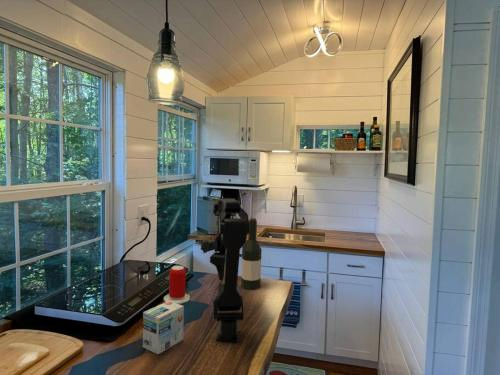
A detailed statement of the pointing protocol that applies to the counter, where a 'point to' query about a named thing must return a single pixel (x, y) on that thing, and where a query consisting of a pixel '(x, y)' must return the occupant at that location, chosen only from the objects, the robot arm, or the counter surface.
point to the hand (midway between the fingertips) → (224, 275)
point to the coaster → (177, 301)
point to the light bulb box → (163, 326)
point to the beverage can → (177, 282)
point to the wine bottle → (251, 260)
